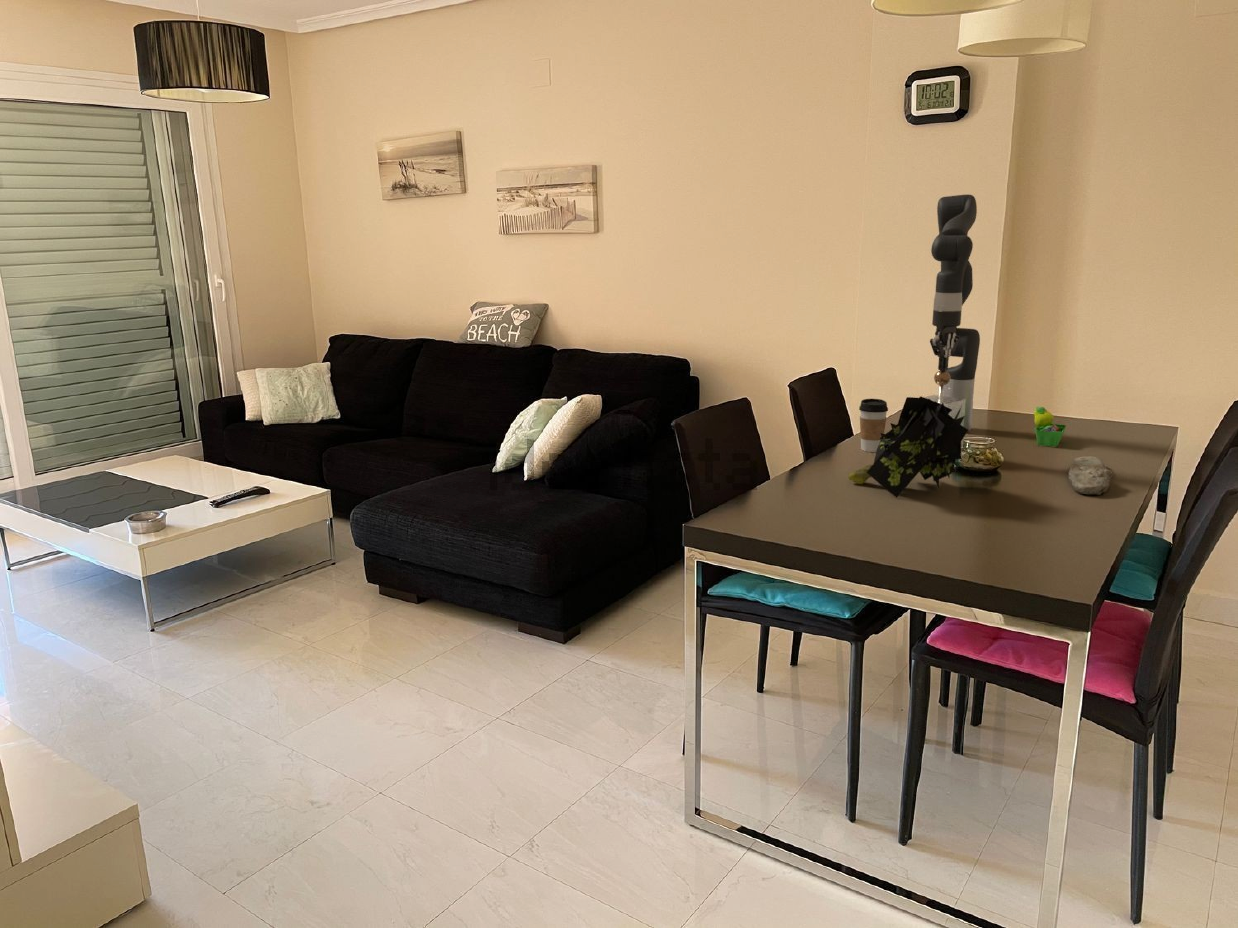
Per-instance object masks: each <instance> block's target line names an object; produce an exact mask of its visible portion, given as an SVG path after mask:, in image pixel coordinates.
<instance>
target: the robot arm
mask: <svg viewBox="0 0 1238 928" xmlns="http://www.w3.org/2000/svg"><path fill="white" fill-rule="evenodd" d="M936 206H937V207H936V209H937V211H936V213H937V225H938V232H939V233H938V235H937V236H936V237H935V238H934V239H933V242H932V245H931V249H930V251H931V256H932V257H933V259H934V260H935V261H937V262H940V271H939V272H938V273H937V274H936V278H935V292H934V293H935V294H934V299H933V307H932V308H933V311H932V326H933V327H936V329H935V333H934V335H935V336H934V337H933V338H930V339H929V343H930V346H931V349H932V351H933V354H934V356H937V357H938V364H937V369H938V370H937V371H940V370H941V371H947V372H948V373H949V374H950V381H949V383H948V384H946V385H944V391H943V396H946V397H953V398H961V399H966V402H965V414H964V416H965V417H964V426H963V427H965V428H966V429H968V432H967V433H969V432H971V430H972V420H973V409H974V392H975V391H974V389H975V380H976V379H975V378H976V372H977V367H978V359H979V352H980V344H981V343H980V342H981V338H980V337H981V336H980V332H979V331H978V330H977V329H975V328H967V327H966V328H965V327H959V326H961V322H962V310H963V305H964V304H965V302H966V301H967V299H968V298H969V296H970V295H971V293H972V290H973V282H974V279H973V267H972V264H971V263H970V257H971V255H972V252H973V248H974V243H973V240H972V238H971V237H970V236H968V235H969V234H968V233H969V231H970V230H971V229H972V227H973V225H974V224H975V222H976V218H977V211H978V209H977V208H978V207H977V200H976V197H975V196H974V195H973V194H957V195H948V196H942V197H940V198H939V200H937V205H936ZM951 357H954V358H955V357H957V358H962V361H961V363H959V364H958V365H954V366H950V367H949V359H950V358H951Z"/></svg>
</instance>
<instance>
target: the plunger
mask: <svg viewBox="0 0 1238 928" xmlns="http://www.w3.org/2000/svg"><path fill="white" fill-rule="evenodd" d="M933 379H934V382H935V384H937V385H938V387H939V388H938V396H939V398H938V400H943V392H944V385H946V384H948V383H949V381H950V374H949V373H948V372H947V371H941V370H937V371H936V373H935V374H934V376H933Z"/></svg>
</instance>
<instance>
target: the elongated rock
mask: <svg viewBox="0 0 1238 928" xmlns="http://www.w3.org/2000/svg"><path fill="white" fill-rule="evenodd" d="M1068 470H1069V471H1068V481H1069V482H1070V483H1071V487H1072V489H1073V488H1074V489H1073V490H1074V491H1075V492H1077V493H1080V494H1085V495H1097V496H1100V495H1101V494H1102V493H1106V492H1107V491H1108V489H1109V487H1110V484H1111V483H1110V480H1111V477H1112V476H1113V471H1112V470H1111V469H1108V468H1107V467H1106V464H1105V463H1103V459H1102V458H1099V457H1098V456H1090V455H1087V456H1079V457H1075V458H1074V459H1072V462H1071V465H1070V466H1069V467H1068Z"/></svg>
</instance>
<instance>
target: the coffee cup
mask: <svg viewBox="0 0 1238 928" xmlns="http://www.w3.org/2000/svg"><path fill="white" fill-rule="evenodd" d="M858 410H860V411H859V412H860V414H859V415H860V416H859V431H860V450H861V449H862V450H864V451H863V452H865V451H867V452H866V453H876V451H877V448H878V445H879V443H880V438H881V437H882V436H881V433H883V434H885V429H886V422H887V412H888V411H889V408H888V403H887V401H886V400H884V399H879V398H864V399H862V400H861V402H860V405H859V409H858ZM862 450H861V451H862Z"/></svg>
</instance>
